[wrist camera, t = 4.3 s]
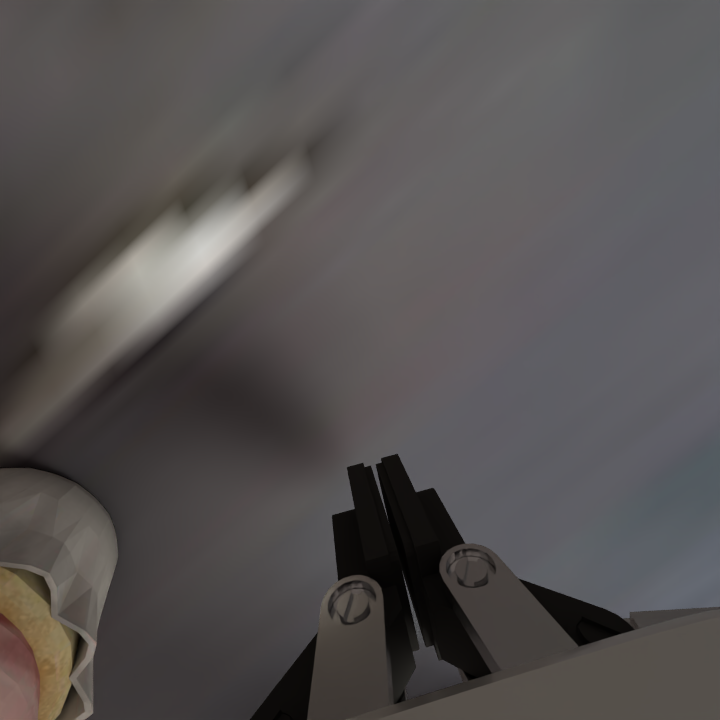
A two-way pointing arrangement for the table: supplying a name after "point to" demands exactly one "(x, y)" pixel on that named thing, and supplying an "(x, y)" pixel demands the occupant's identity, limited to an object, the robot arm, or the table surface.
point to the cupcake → (50, 593)
